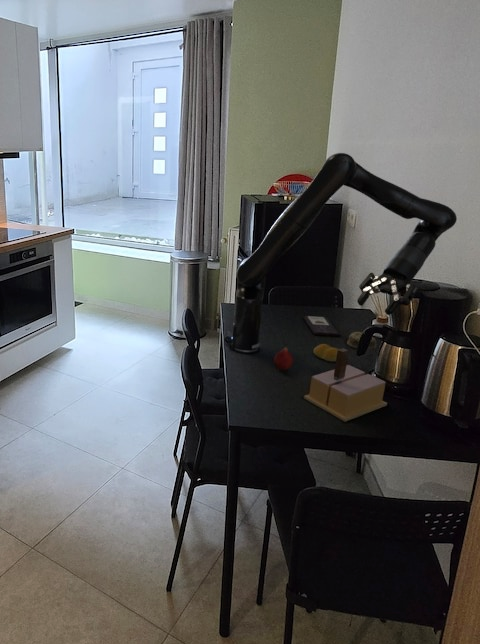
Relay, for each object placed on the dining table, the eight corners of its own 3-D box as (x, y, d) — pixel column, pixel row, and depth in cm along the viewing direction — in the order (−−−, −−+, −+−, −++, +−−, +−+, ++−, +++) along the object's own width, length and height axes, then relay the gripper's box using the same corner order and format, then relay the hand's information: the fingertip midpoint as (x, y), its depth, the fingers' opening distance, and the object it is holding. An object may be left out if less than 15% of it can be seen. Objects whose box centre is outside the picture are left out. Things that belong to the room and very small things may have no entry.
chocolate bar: (315, 332, 186) (304, 316, 203) (314, 334, 187) (304, 318, 204) (339, 333, 185) (326, 317, 202) (339, 336, 186) (326, 319, 203)
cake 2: (362, 353, 172) (364, 340, 170) (340, 343, 181) (341, 330, 179) (383, 347, 176) (384, 333, 174) (360, 337, 184) (361, 324, 183)
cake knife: (333, 405, 136) (342, 352, 131) (328, 402, 137) (336, 349, 132) (341, 403, 137) (349, 350, 132) (335, 400, 139) (344, 347, 134)
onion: (282, 376, 154) (285, 353, 152) (269, 368, 159) (271, 346, 157) (295, 372, 157) (298, 349, 154) (282, 365, 162) (285, 343, 159)
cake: (344, 421, 129) (349, 397, 127) (303, 398, 141) (306, 375, 139) (387, 405, 138) (391, 382, 135) (344, 384, 149) (348, 362, 147)
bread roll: (335, 364, 162) (336, 353, 161) (310, 355, 169) (311, 345, 168) (346, 357, 167) (348, 347, 166) (321, 349, 174) (323, 339, 173)
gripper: (377, 251, 143) (346, 294, 141) (426, 262, 131) (392, 308, 129) (386, 267, 147) (355, 308, 145) (433, 278, 135) (401, 324, 133)
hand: (372, 308), depth 137 cm, fingers open, 8 cm apart
